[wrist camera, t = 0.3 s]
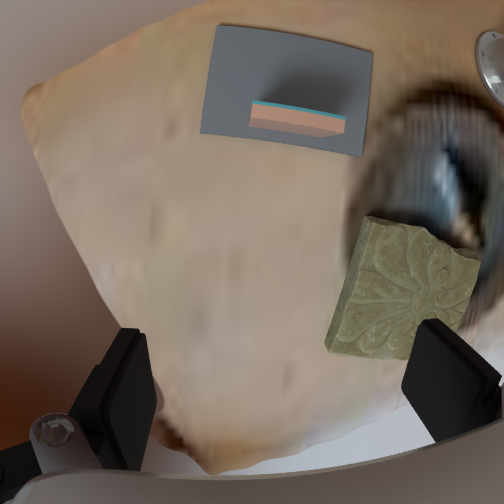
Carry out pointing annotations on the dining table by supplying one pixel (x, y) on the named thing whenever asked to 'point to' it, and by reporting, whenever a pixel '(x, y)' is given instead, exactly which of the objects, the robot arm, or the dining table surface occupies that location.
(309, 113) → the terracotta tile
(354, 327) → the decorative tile
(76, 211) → the dining table surface
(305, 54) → the rubber mat
